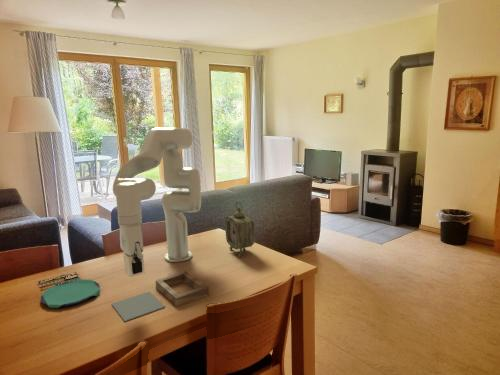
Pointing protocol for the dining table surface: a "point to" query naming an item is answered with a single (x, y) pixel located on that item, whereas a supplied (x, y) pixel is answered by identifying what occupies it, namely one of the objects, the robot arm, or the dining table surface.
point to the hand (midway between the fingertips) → (134, 269)
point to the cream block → (129, 262)
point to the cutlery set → (69, 291)
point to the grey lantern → (239, 231)
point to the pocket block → (183, 298)
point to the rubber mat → (137, 306)
